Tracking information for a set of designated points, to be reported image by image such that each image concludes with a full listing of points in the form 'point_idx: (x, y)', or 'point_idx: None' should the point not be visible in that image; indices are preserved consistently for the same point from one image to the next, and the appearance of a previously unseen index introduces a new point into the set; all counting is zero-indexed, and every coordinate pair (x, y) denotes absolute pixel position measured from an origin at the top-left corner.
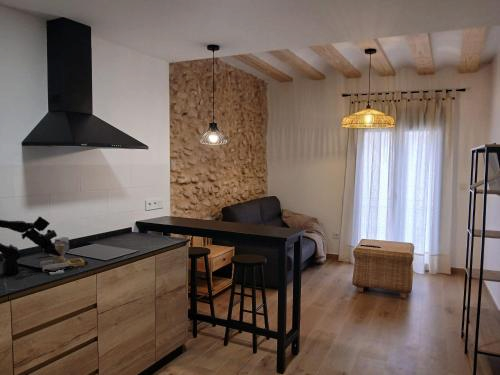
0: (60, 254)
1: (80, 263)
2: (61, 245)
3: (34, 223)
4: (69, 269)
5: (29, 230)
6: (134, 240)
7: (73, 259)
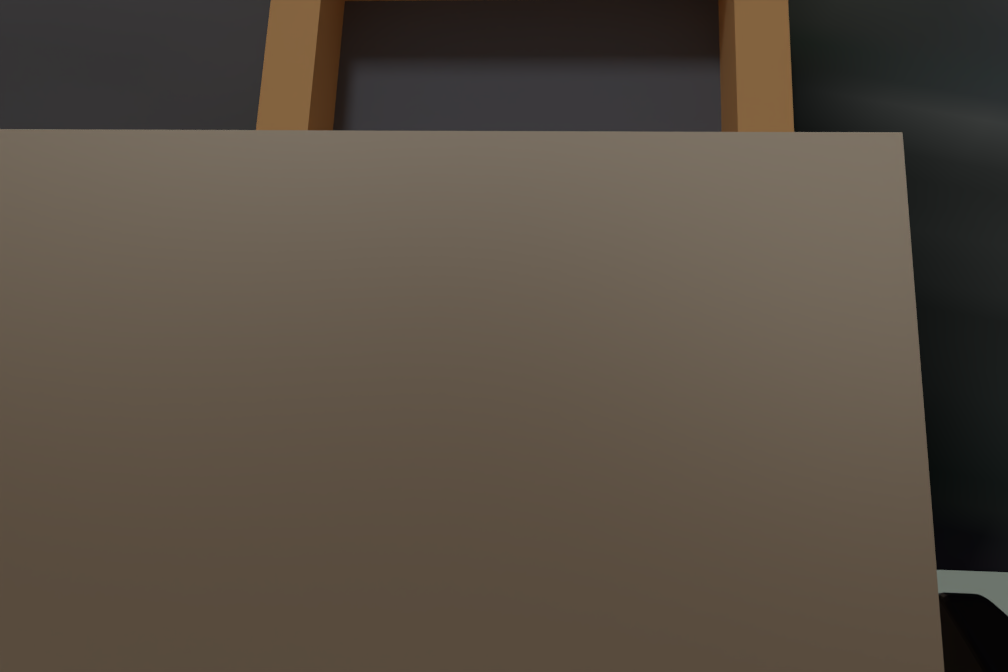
0: (992, 607)
1: (780, 22)
2: (874, 392)
3: None
4: (974, 378)
5: None
6: None
7: (311, 106)
